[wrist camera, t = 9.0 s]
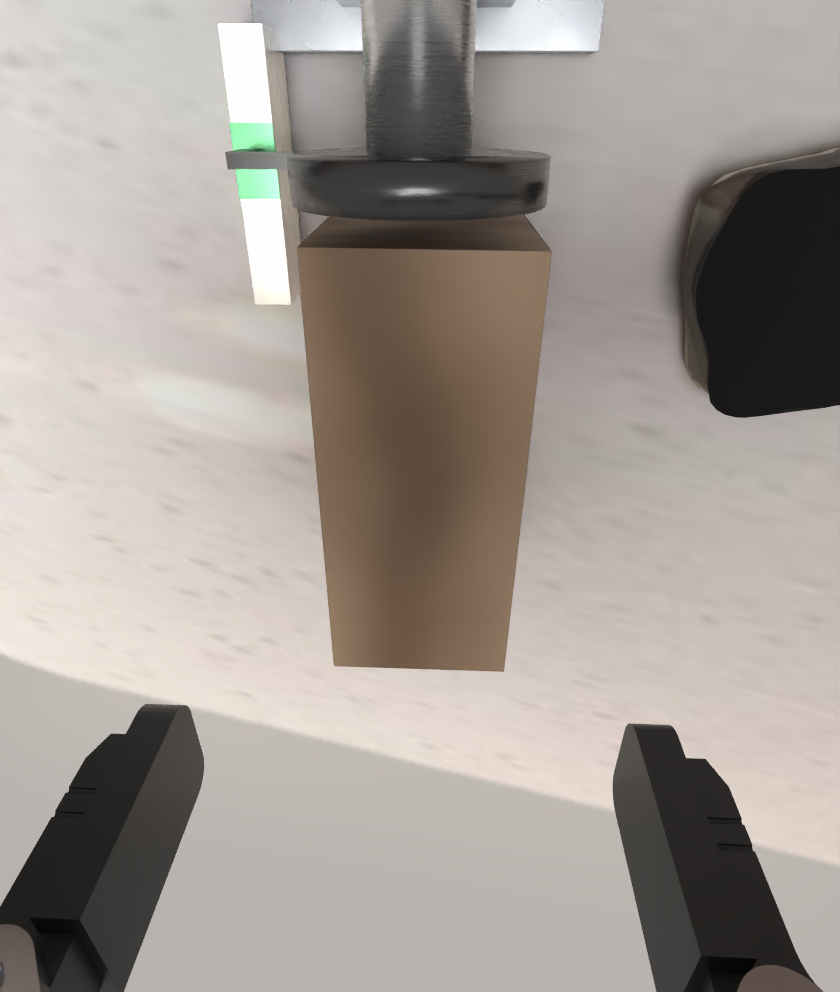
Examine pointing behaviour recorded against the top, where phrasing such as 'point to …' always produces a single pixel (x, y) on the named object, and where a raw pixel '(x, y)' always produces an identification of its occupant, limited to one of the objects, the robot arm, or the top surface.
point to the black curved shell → (766, 288)
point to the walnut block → (422, 430)
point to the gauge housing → (338, 29)
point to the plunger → (413, 131)
